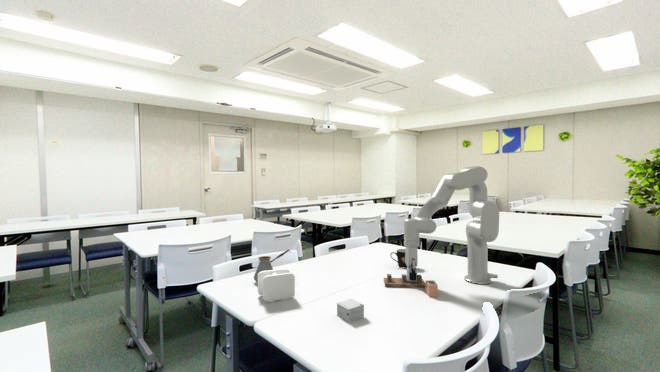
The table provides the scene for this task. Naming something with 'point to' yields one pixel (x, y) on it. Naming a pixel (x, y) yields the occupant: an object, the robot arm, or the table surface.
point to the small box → (350, 310)
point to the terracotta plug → (431, 288)
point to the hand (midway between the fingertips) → (411, 277)
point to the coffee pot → (265, 264)
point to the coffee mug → (400, 257)
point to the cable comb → (404, 282)
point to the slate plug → (409, 274)
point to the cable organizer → (276, 284)
